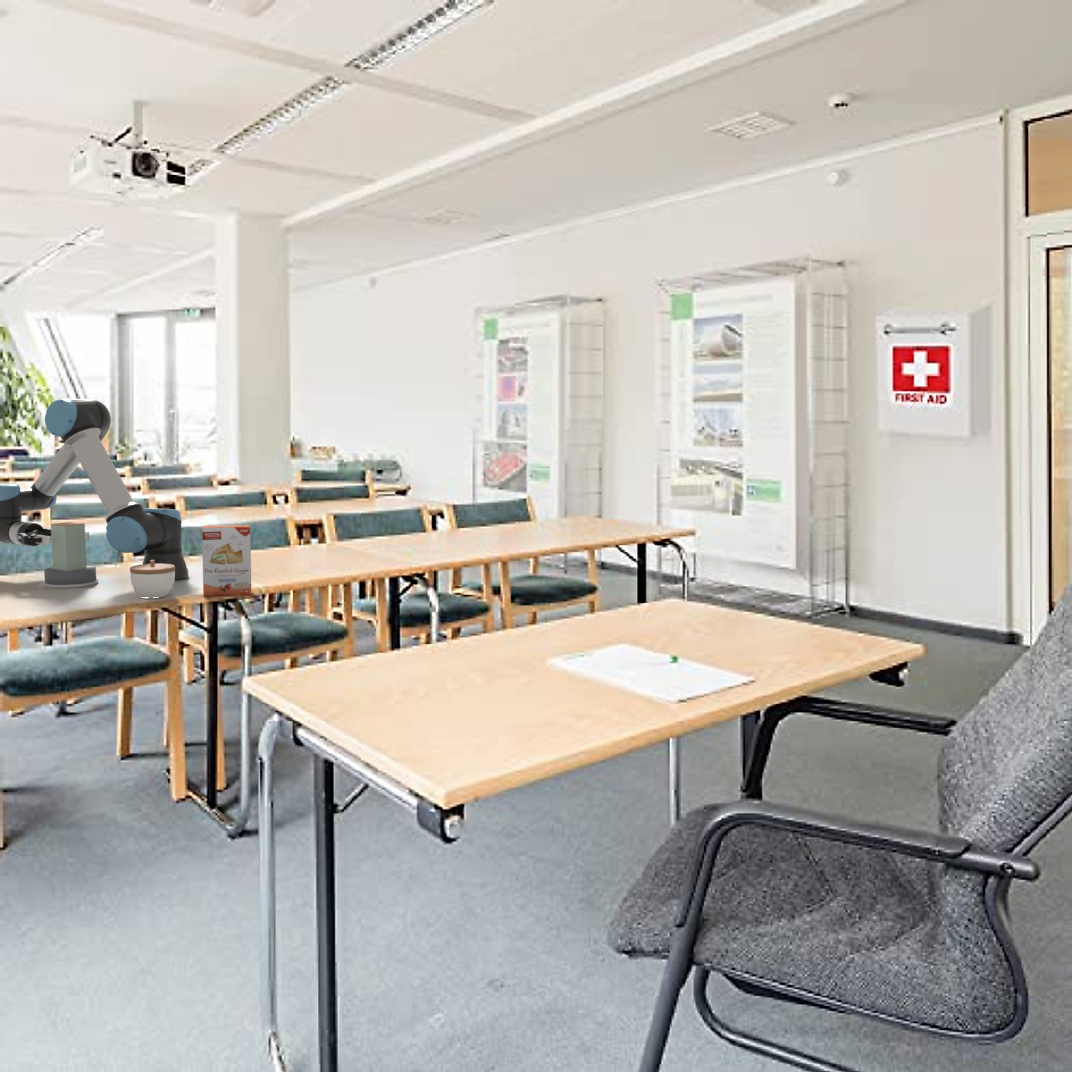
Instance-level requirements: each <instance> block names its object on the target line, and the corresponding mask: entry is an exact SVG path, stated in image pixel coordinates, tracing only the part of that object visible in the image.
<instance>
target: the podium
mask: <svg viewBox="0 0 1072 1072" xmlns="http://www.w3.org/2000/svg"><path fill="white" fill-rule="evenodd" d="M43 573H44V575H43V576H44V581H43V582H42V587H44V588H46V587H49V588H48V589H77V587H79V588H86V587H92V586H95V585H98V584H99V579H98V578H97V567H96V566H94V565H87V568H84V569H77V570H71V571H63V570H56V569H53V566H52V567H47V568H45V569H44V570H43Z"/></svg>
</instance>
